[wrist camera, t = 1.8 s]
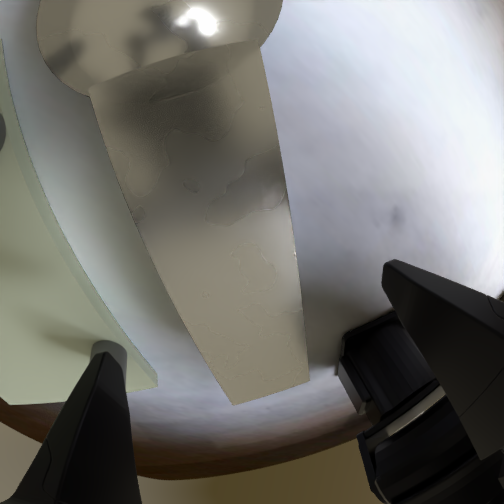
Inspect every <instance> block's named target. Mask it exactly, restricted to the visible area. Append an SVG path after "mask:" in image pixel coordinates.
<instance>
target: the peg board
mask: <svg viewBox="0 0 504 504" xmlns="http://www.w3.org/2000/svg"><path fill="white" fill-rule="evenodd" d="M102 351H108V352H109V353H110V354H111V355H112V356H113V357H114V358H115V360H116V361H117V362H118V363H119V364H120V365H121V367H122V370H123V375H124V382H125V389H126V393H129V392H134V391H140V390H145V389H150V388H155V387H158V384H157V373H156V372H155V371H154V370H153V369H152V367H151V366H150V365H149V364H148V362H147V361H146V360H145V359H144V357H143V356H142V355H141V354H140V352H139V351H138V350H137V349H136V347H135V346H134V345H133V343H132V342H131V341H130V339H129V338H128V337H127V335H126V334H125V333H124V331H123V330H122V328H121V327H120V326H119V324H118V323H117V321H116V320H115V319H114V317H113V316H112V314H111V313H110V311H109V310H108V308H107V307H106V305H105V304H104V302H103V301H102V299H101V298H100V296H99V295H98V293H97V291H96V290H95V288H94V287H93V285H92V284H91V282H90V280H89V279H88V277H87V275H86V274H85V272H84V270H83V269H82V267H81V265H80V263H79V262H78V260H77V258H76V256H75V255H74V253H73V251H72V249H71V247H70V245H69V244H68V242H67V240H66V238H65V236H64V234H63V232H62V230H61V228H60V226H59V224H58V222H57V220H56V218H55V216H54V214H53V212H52V210H51V207H50V205H49V203H48V201H47V199H46V196H45V194H44V192H43V189H42V187H41V185H40V182H39V180H38V177H37V175H36V172H35V170H34V167H33V164H32V162H31V159H30V156H29V154H28V151H27V148H26V145H25V142H24V139H23V136H22V133H21V129H20V126H19V123H18V119H17V116H16V112H15V108H14V104H13V100H12V96H11V92H10V87H9V83H8V78H7V73H6V67H5V61H4V54H3V47H2V39H0V397H1V398H3V399H4V400H5V401H6V402H7V403H9V404H10V405H17V404H39V403H52V402H64V401H67V399H68V397H69V395H70V394H71V392H72V390H73V389H74V387H75V385H76V384H77V382H78V380H79V379H80V377H81V376H82V374H83V372H84V371H85V369H86V368H87V366H88V364H89V363H90V361H91V360H92V358H93V356H94V355H95V354H96V353H98V352H102Z"/></svg>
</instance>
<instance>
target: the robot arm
mask: <svg viewBox="0 0 504 504" xmlns="http://www.w3.org/2000/svg"><path fill="white" fill-rule="evenodd" d="M381 283H382V288H383V290H384V292H385V294H386V295H387V297H388V299H389V301H390V303H391V304H392V306H393V308H394V310H395V311H394V312H392V313H390V314H388V315H386V316H384V317H381V318H379V319H377V320H375V321H373V322H371V323H368V324H366V325H364V326H362V327H359V328H357V329H355V330H352V331H350V332H348V333H346V334H345V335H344V336H343V338H342V351H341V357H340V360H339V368H338V377H339V379H340V381H341V382H342V384H343V386H344V388H345V390H346V392H347V394H348V396H349V398H350V399H351V401H352V403H353V405H354V407H355V409H356V411H357V413H358V414H360V415H363V414H365V413H366V414H367V416H368V418H369V420H370V422H371V424H372V425H373V426H372V427H371V428H369V429H368V430H366V431H362V432H361V433H359V434H358V435H357V440H358V443H359V449H360V453H361V456H362V460H363V463H364V467H365V471H366V475H367V478H368V482H369V486H370V489H371V491H372V492H373V493H374V494H375V495H376V497H377V498H378V499H379V500H380V501H381V502H382V503H384V504H504V302H503V301H500V300H498V299H495V298H493V297H491V296H488V295H487V296H486V294H483V293H481V292H478V291H476V290H474V289H471V288H469V287H466V286H464V285H461V284H459V283H456V282H454V281H451V280H449V279H446V278H444V277H441V276H439V275H436V274H434V273H431V272H428V271H426V270H423V269H421V268H418V267H415V266H413V265H410V264H407V263H405V262H402V261H399V260H396V259H393V260H391V261H388V262H386V263H385V264H384V265H383V273H382V281H381ZM445 393H446V394H445ZM444 394H445V395H444ZM443 395H444V396H443ZM442 396H443V397H442ZM441 397H442V398H441ZM439 398H441V399H440V400H438V399H439ZM437 400H438V401H437ZM436 401H437V402H436ZM434 402H436V403H435V404H433V403H434ZM432 404H433V406H431V405H432ZM429 406H431V407H430V408H429V409H427V408H428V407H429ZM426 409H427V410H426ZM425 410H426V411H425ZM423 411H425V412H423ZM422 412H423V413H422ZM421 413H422V414H421ZM419 414H421V415H419ZM418 415H419V416H418ZM417 416H418V417H417ZM415 417H417V418H415ZM414 418H415V419H414ZM413 419H414V420H413ZM411 420H413V421H411ZM410 421H411V422H410ZM408 422H410V423H409V424H407V423H408ZM406 424H407V425H406ZM404 425H406V426H404ZM403 426H404V427H403ZM401 427H403V428H401ZM400 428H401V429H400ZM399 429H400V430H399ZM397 430H399V431H397ZM396 431H397V432H396ZM394 432H396V433H394ZM393 433H394V434H393ZM391 434H393V435H391ZM390 435H391V436H390ZM389 436H390V437H389ZM0 504H142V501H141V496H140V490H139V485H138V479H137V473H136V466H135V459H134V452H133V443H132V434H131V424H130V413H129V407H128V401H127V395H126V389H125V382H124V375H123V370H122V367H121V365H120V364H119V363H118V362H117V361H116V360H115V358H114V357H113V356H112V355H111V354H110V353H109V352H108V351H102V352H98V353H96V354H95V355H94V356H93V358H92V360H91V361H90V363H89V364H88V366H87V368H86V369H85V371H84V372H83V374H82V376H81V377H80V379H79V380H78V382H77V384H76V385H75V387H74V389H73V390H72V392H71V394H70V395H69V397H68V399H67V401H66V402H65V404H64V406H63V407H62V409H61V411H60V413H59V414H58V416H57V418H56V420H55V422H54V423H53V425H52V427H51V429H50V431H49V433H48V434H47V438H45V440H44V442H43V444H42V446H41V448H40V450H39V451H38V453H37V455H36V457H35V459H34V460H33V462H32V464H31V466H30V467H29V469H28V471H27V472H26V474H25V476H24V477H23V479H22V481H21V482H20V484H19V486H18V488H17V489H16V491H15V493H14V494H13V495H12V496H11V497H10V498H9V499H7V500H5V501H3V502H1V503H0Z"/></svg>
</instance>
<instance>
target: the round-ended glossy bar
mask: <svg viewBox="0 0 504 504" xmlns="http://www.w3.org/2000/svg"><path fill="white" fill-rule="evenodd" d="M282 2H283V0H41V1H40V5H39V9H38V13H37V23H36V31H37V41H38V45H39V49H40V52H41V54H42V56H43V59H44V61H45V63H46V64H47V66H48V67H49V68H50V70H51V71H52V73H53V74H54V75H55V76H56V77H57V78H58V79H59V80H60V81H61V82H63V83H64V84H66V85H67V86H68V87H70V88H71V89H73V90H75V91H77V92H79V93H81V94H83V95H85V96H88V97H90V98H91V102H92V105H93V109H94V112H95V115H96V119H97V122H98V125H99V128H100V131H101V134H102V137H103V140H104V143H105V146H106V149H107V152H108V155H109V158H110V161H111V163H112V166H113V169H114V172H115V174H116V177H117V180H118V182H119V185H120V187H121V190H122V192H123V195H124V197H125V200H126V202H127V205H128V207H129V210H130V212H131V215H132V217H133V219H134V222H135V224H136V226H137V229H138V231H139V233H140V235H141V238H142V240H143V242H144V244H145V247H146V249H147V251H148V253H149V255H150V257H151V260H152V262H153V264H154V266H155V268H156V270H157V272H158V274H159V276H160V278H161V280H162V282H163V284H164V286H165V288H166V290H167V292H168V294H169V296H170V298H171V300H172V302H173V304H174V306H175V308H176V310H177V312H178V313H179V315H180V317H181V319H182V321H183V323H184V325H185V326H186V328H187V330H188V332H189V334H190V335H191V337H192V339H193V341H194V343H195V344H196V346H197V348H198V350H199V351H200V353H201V355H202V356H203V358H204V360H205V361H206V363H207V365H208V366H209V368H210V370H211V371H212V373H213V375H214V376H215V378H216V380H217V381H218V383H219V384H220V386H221V388H222V389H223V391H224V392H225V394H226V395H227V397H228V399H229V400H230V402H231V403H232V405H237V404H241V403H244V402H248V401H251V400H255V399H258V398H261V397H264V396H268V395H271V394H274V393H277V392H280V391H283V390H286V389H289V388H291V387H294V386H297V385H300V384H303V383H305V382H308V381H310V378H309V366H308V355H307V344H306V334H305V324H304V315H303V306H302V297H301V288H300V280H299V272H298V264H297V256H296V249H295V241H294V234H293V227H292V220H291V214H290V207H289V200H288V194H287V188H286V181H285V175H284V169H283V163H282V157H281V152H280V146H279V140H278V135H277V129H276V124H275V119H274V114H273V108H272V103H271V98H270V93H269V88H268V84H267V79H266V74H265V69H264V65H263V60H262V56H261V51H260V47H261V46H262V45H263V44H264V42H265V41H266V39H267V38H268V36H269V35H270V33H271V32H272V30H273V28H274V26H275V24H276V22H277V20H278V17H279V14H280V11H281V8H282Z"/></svg>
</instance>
